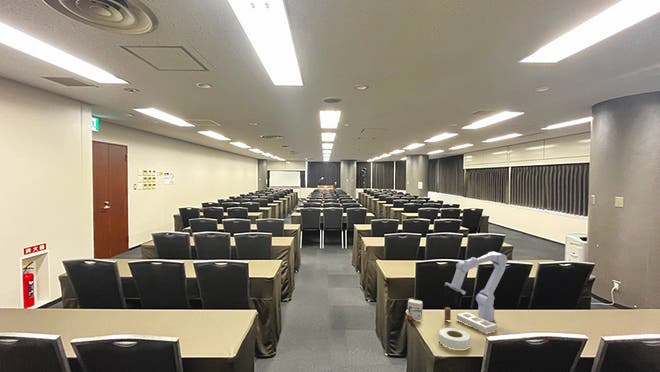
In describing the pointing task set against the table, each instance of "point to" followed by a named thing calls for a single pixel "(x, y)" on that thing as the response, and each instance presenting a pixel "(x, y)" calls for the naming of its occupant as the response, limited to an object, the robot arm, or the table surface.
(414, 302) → the ink box
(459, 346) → the roll of tape
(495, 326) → the well block
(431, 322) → the table surface
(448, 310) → the walnut peg
